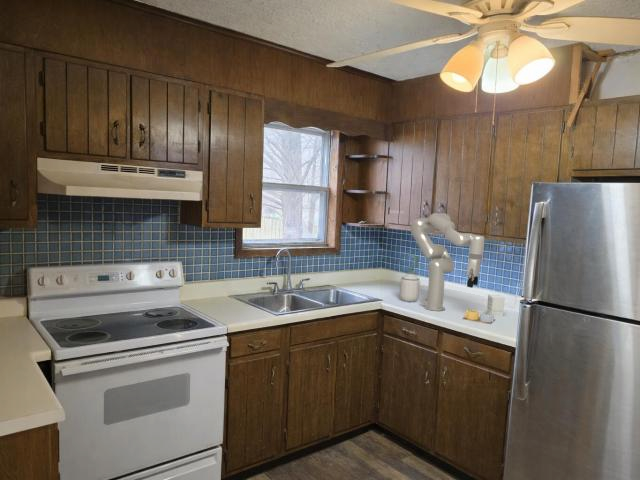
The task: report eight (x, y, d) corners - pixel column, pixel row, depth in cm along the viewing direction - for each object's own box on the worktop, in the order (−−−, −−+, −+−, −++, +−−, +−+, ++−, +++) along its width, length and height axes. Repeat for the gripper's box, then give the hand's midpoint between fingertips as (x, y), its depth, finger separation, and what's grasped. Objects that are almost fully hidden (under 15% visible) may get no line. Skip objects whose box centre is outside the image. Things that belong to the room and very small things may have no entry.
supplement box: (498, 315, 284) (499, 295, 283) (503, 318, 277) (505, 297, 276) (486, 315, 284) (487, 294, 283) (490, 318, 277) (492, 297, 276)
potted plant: (404, 297, 322) (407, 252, 319) (421, 300, 315) (424, 254, 312) (396, 300, 312) (399, 254, 309) (413, 303, 305) (417, 256, 302)
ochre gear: (463, 318, 269) (464, 311, 269) (467, 315, 275) (467, 309, 275) (476, 320, 265) (477, 313, 265) (479, 317, 271) (480, 311, 271)
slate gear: (480, 321, 263) (481, 314, 262) (478, 318, 270) (479, 311, 269) (494, 322, 262) (494, 315, 261) (491, 319, 269) (492, 312, 268)
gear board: (461, 321, 267) (462, 309, 266) (467, 316, 278) (468, 305, 277) (490, 326, 258) (491, 314, 258) (495, 321, 269) (496, 310, 269)
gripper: (473, 254, 278) (469, 282, 280) (464, 257, 263) (461, 287, 266) (486, 256, 274) (482, 285, 276) (478, 259, 259) (474, 289, 262)
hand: (472, 285), depth 271 cm, fingers open, 9 cm apart
